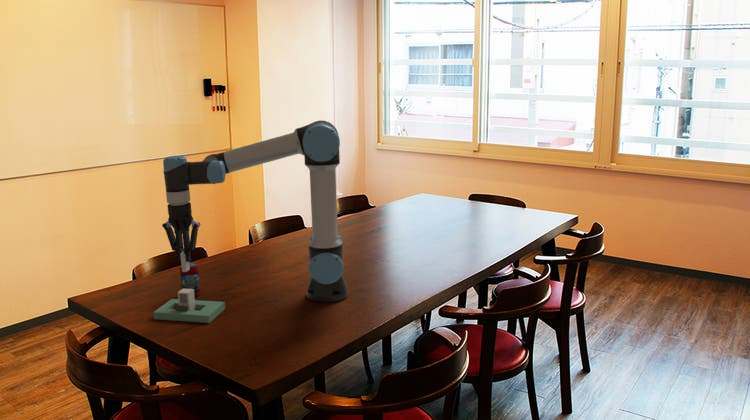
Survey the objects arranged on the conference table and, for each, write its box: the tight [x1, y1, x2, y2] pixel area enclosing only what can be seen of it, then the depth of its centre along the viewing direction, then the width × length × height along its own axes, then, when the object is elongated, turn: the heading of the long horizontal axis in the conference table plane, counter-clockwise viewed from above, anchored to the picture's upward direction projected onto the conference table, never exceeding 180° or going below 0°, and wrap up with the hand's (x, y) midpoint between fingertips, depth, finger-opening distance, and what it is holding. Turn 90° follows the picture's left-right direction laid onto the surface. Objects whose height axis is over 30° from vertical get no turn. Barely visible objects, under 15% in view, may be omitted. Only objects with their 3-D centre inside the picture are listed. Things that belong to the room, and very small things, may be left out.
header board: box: [153, 298, 226, 324], centre depth 235 cm, size 20×13×4 cm, turn 79°
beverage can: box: [179, 261, 202, 298], centre depth 252 cm, size 7×7×12 cm
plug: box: [177, 288, 196, 310], centre depth 235 cm, size 4×4×8 cm
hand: (186, 270), depth 232 cm, fingers closed
